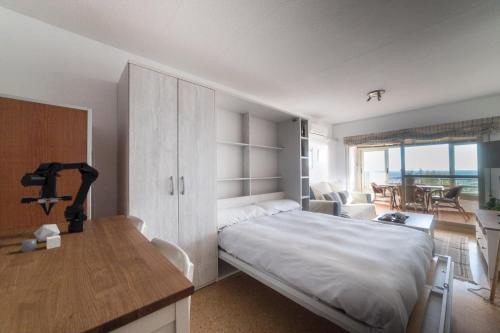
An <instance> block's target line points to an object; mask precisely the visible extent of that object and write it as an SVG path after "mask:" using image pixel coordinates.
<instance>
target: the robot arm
mask: <svg viewBox="0 0 500 333" xmlns="http://www.w3.org/2000/svg"><path fill="white" fill-rule="evenodd" d="M67 170H77V171H78V173H79V174H80V175H81V176H80V179H81V184H80V186H79V187H78V188H79V189H78V191H77V194H76V195H75V198H74V200H73V195H72V194H63V195H61V196H58V191H57V181H58V180H57V179H58V178H61V177H62V175H61V174H59V172H62V171H67ZM99 174H100V173H99V171H98V170H97V169H95V167H93V166H91V165H89V164H88V162H86V161H77V162H67V163H66V162H57V161H43V162H40V164H39V165H38V167H37V168H36V169H35V170H34V171H33V172H25V173H24V175H22V177H21V179H20V183H21V186H23V187H24V188H31V187H40V190H39V192H38V196H39V197H35V196H24V197H22V198H21V199H20V204H21V205H22V204H31V203H33V202H37V205H40V207H41V208H42V209H43V211H44V214H45V215H46V216H50V214H51V211H52V209H53V207H54V205H55V204H57V203H59V201H63V202H68V201H71V202H72V200H73V203H72V204H71V205H67V206H66V207H65V210H64V211H63V213H64V214H63V216H64V218H65V221H66V222H67V223H68V225H67V232H68V234H73V233H81V232H84V230H85V229H84V224H85V223H84V222H85V221H87V220H88V216H87V215H86V214H85V213H84V212H85V207H84V204H85V202H86V200H87V199H86V198H87V196H88V194H89V192H90V188H91V186H92V184H93V183H95V181H97V179H98V177H99ZM48 201H50V202H49V203H48Z"/></svg>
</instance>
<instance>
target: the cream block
mask: <svg viewBox="0 0 500 333" xmlns="http://www.w3.org/2000/svg"><path fill="white" fill-rule="evenodd" d="M61 240H62V238H61V235H59V234H58V235H57V236H52V237H47V241H46V249H47V250H50V249H53V248H58V247H61Z"/></svg>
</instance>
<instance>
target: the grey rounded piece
mask: <svg viewBox="0 0 500 333" xmlns="http://www.w3.org/2000/svg"><path fill="white" fill-rule="evenodd" d="M37 241H38V240H37V238H30V239H26V240H22V241H21V253H30V252H33V251H36V250H37Z"/></svg>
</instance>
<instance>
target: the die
mask: <svg viewBox="0 0 500 333" xmlns="http://www.w3.org/2000/svg"><path fill="white" fill-rule="evenodd" d="M60 233H61V232H60V230H59V228H58V225H57V224H56V223H53V224H51V223H50V224H43V225H41V226H40V227H39V228H38V229H37V230H36V231H34V232H33V235H34V236H35V239H37V240H36V241H38V243H39V242H40V243H43V242H47V237H52V236H58V235H59V234H60Z"/></svg>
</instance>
